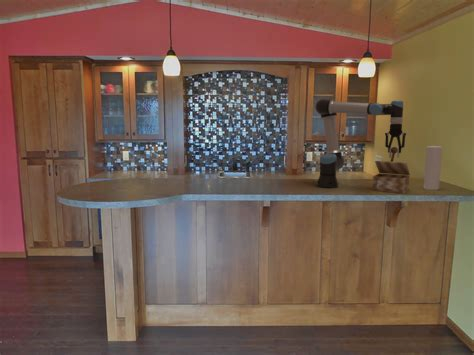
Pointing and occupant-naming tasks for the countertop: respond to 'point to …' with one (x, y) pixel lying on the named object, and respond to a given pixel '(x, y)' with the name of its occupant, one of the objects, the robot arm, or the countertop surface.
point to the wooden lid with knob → (392, 165)
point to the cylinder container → (432, 167)
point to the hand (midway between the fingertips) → (394, 157)
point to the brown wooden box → (391, 183)
